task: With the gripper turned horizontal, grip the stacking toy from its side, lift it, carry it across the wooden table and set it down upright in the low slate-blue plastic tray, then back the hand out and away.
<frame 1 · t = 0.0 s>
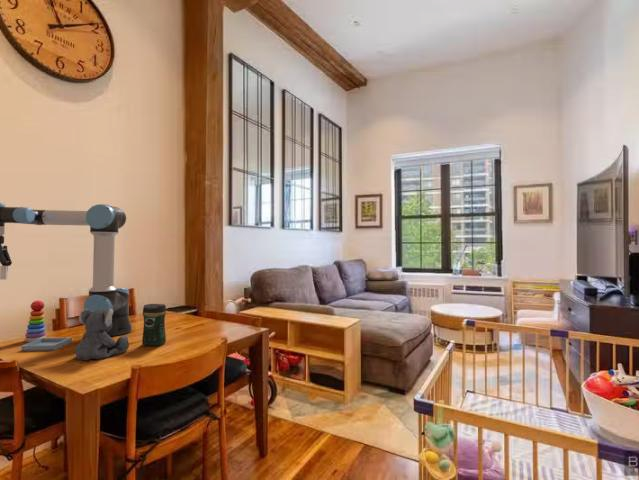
tray: (47, 346, 158), on the table
coffee jar: (154, 344, 164), on the table
koala plush: (98, 355, 147), on the table
stacking toy: (35, 340, 167), on the table
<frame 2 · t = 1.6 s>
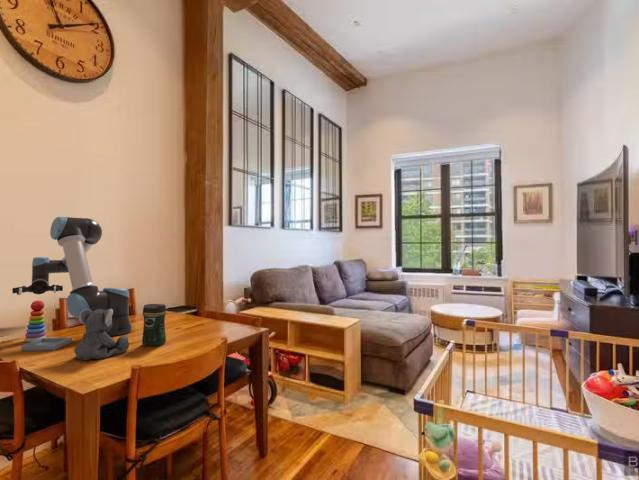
hand: (37, 291, 176), 22 cm above the table, tool horizontal, fingers open, 13 cm apart
nothing on the table moved.
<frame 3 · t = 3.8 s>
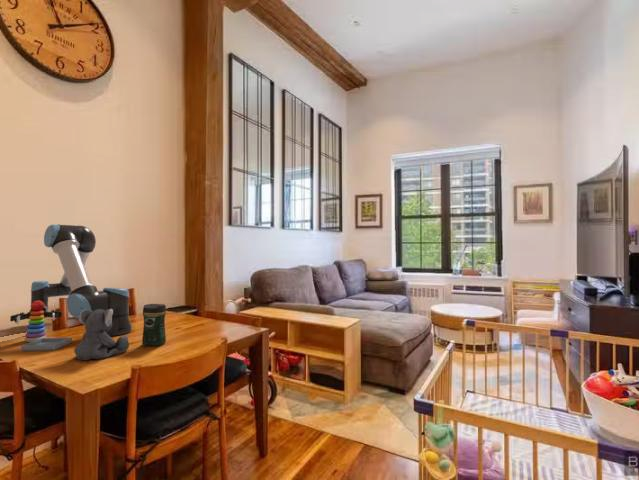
hand: (35, 319, 172), 9 cm above the table, tool horizontal, fingers open, 13 cm apart
nothing on the table moved.
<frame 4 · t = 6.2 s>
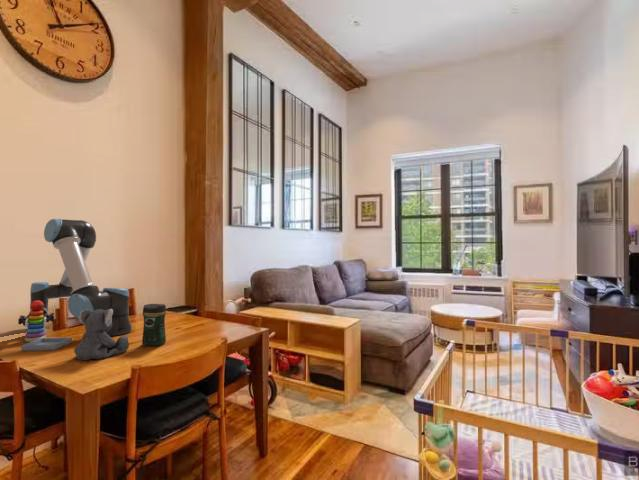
hand: (35, 322, 164), 9 cm above the table, tool horizontal, fingers closed on stacking toy, 6 cm apart
stacking toy: (35, 340, 167), on the table, touching gripper
everything else where it was.
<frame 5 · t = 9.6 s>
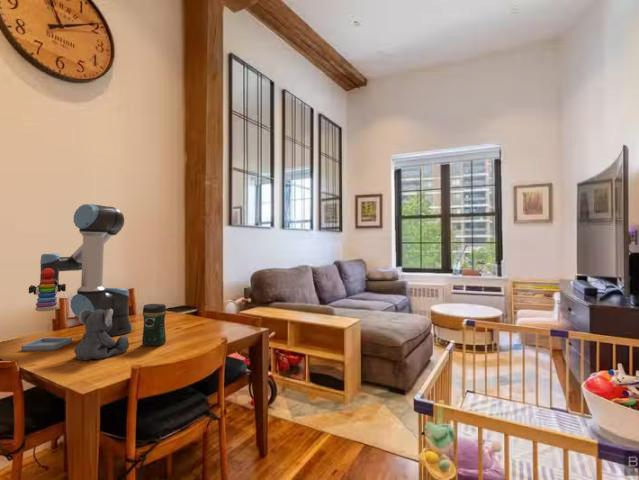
hand: (46, 291, 155), 25 cm above the table, tool horizontal, fingers closed on stacking toy, 6 cm apart
stacking toy: (46, 310, 159), point 16 cm above the table, touching gripper
everything else where it was.
when the fingers open (11 cm above the table, at t = 13.1 s): stacking toy drops 2 cm, resting on tray.
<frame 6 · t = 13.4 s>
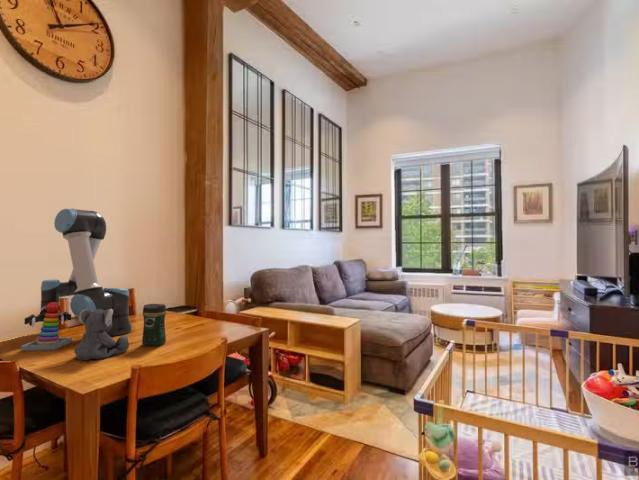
hand: (48, 322, 155), 12 cm above the table, tool horizontal, fingers open, 9 cm apart
stacking toy: (47, 345, 158), point 1 cm above the table, touching tray
everything else where it was.
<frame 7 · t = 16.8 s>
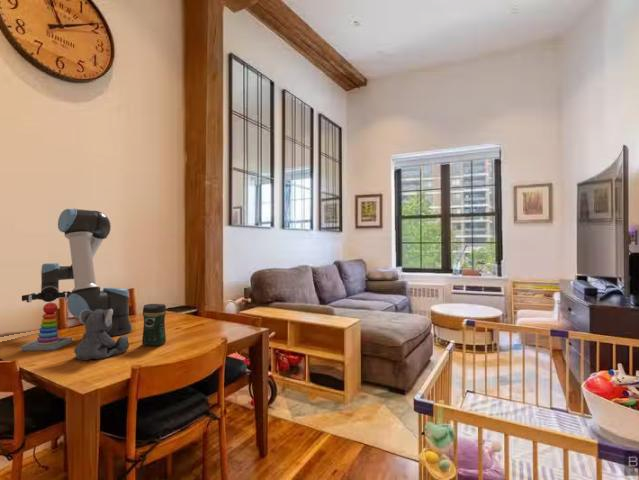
hand: (48, 298, 167), 20 cm above the table, tool horizontal, fingers open, 13 cm apart
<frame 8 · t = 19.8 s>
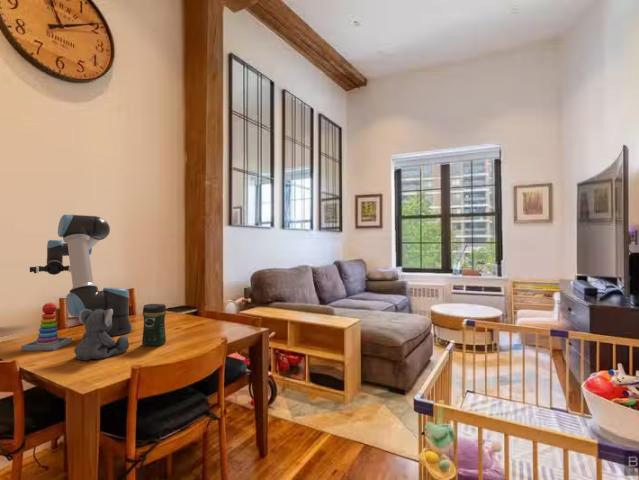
hand: (53, 269, 184), 32 cm above the table, tool horizontal, fingers open, 13 cm apart
nothing on the table moved.
at the end: stacking toy 0.2 cm off-centre on the tray, point 0.4 cm above the tray's base; stacking toy tilted 1°; the gripper is holding nothing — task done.
